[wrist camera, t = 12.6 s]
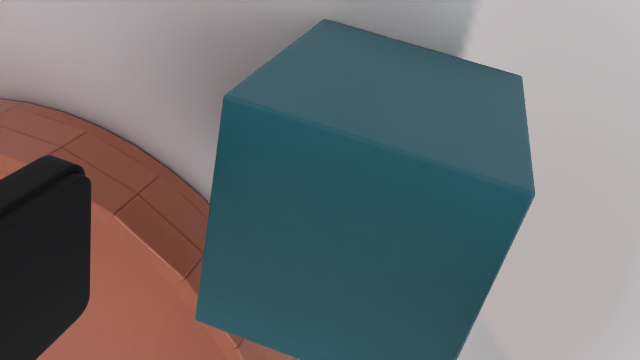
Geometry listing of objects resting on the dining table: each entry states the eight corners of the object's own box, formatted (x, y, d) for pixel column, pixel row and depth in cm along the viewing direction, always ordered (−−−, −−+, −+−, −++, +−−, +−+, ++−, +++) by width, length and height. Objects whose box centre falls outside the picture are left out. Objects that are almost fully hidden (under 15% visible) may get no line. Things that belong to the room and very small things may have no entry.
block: (522, 75, 13) (536, 194, 8) (454, 242, 16) (432, 412, 11) (323, 18, 14) (222, 94, 9) (288, 186, 17) (193, 320, 11)
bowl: (357, 209, 16) (330, 270, 14) (257, 551, 26) (230, 624, 23) (-188, 26, 19) (-296, 48, 16) (-95, 398, 29) (-154, 449, 26)
